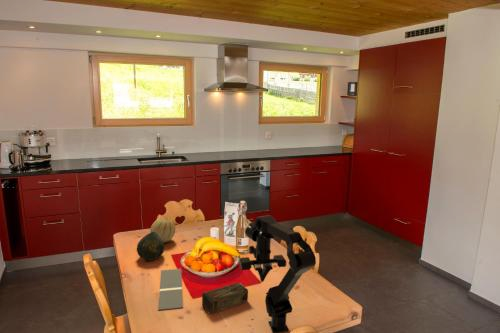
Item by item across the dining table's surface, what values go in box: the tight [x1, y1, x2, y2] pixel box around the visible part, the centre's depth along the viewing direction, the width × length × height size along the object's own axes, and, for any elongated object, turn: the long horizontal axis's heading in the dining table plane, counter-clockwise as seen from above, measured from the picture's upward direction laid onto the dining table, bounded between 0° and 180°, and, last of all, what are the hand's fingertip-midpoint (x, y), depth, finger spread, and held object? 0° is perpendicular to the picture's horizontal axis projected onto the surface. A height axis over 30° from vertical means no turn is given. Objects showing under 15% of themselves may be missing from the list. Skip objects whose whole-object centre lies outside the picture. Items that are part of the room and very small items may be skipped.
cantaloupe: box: [149, 217, 176, 244], centre depth 208 cm, size 15×15×15 cm
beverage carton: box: [201, 282, 249, 315], centre depth 146 cm, size 8×19×7 cm, turn 123°
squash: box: [136, 232, 165, 262], centre depth 187 cm, size 14×15×15 cm
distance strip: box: [157, 268, 184, 311], centre depth 158 cm, size 34×10×1 cm, turn 13°
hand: (261, 281), depth 141 cm, fingers closed
